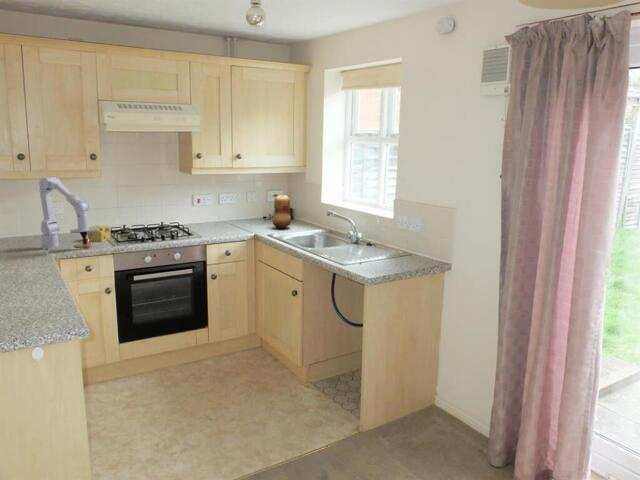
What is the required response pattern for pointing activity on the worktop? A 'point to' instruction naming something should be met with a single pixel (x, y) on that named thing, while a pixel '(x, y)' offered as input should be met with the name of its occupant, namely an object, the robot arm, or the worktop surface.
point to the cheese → (100, 233)
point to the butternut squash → (282, 212)
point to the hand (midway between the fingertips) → (84, 244)
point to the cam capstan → (84, 244)
